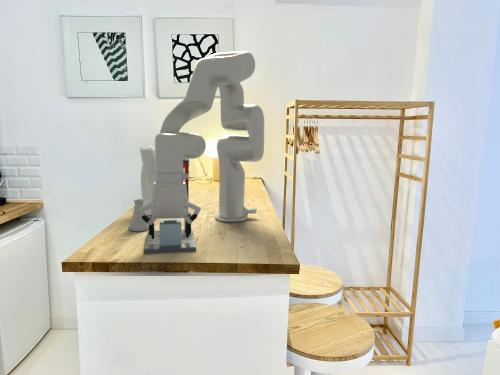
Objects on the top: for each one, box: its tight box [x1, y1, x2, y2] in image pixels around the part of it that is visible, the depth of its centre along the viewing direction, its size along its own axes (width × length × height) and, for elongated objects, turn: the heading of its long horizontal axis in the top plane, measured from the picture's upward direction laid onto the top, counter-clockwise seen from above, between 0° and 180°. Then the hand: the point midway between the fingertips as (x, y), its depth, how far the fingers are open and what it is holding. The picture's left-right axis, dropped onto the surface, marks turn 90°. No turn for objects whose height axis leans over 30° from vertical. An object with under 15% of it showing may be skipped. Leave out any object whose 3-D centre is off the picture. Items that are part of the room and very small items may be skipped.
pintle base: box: [143, 211, 197, 255], centre depth 107 cm, size 14×18×7 cm
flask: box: [127, 198, 149, 232], centre depth 120 cm, size 7×7×10 cm
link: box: [158, 218, 182, 246], centre depth 109 cm, size 17×6×6 cm, turn 13°
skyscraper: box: [139, 141, 156, 216], centre depth 141 cm, size 8×8×28 cm
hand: (170, 236), depth 104 cm, fingers open, 9 cm apart
